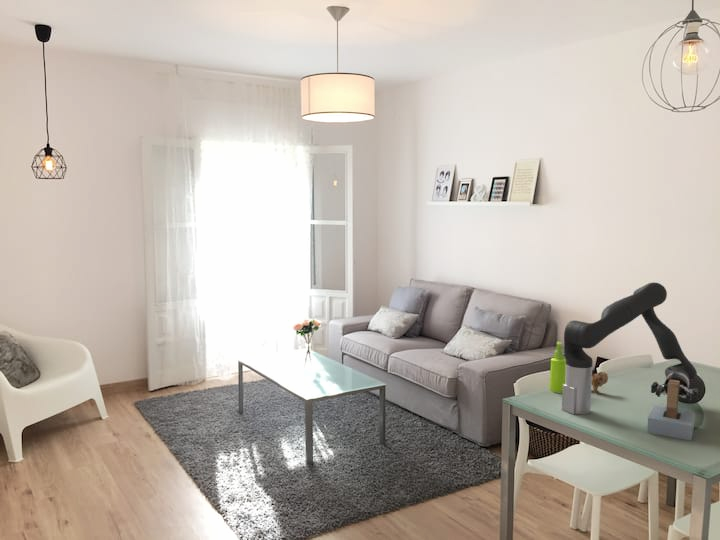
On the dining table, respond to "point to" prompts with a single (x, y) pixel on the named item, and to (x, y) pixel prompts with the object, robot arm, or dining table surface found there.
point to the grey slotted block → (671, 423)
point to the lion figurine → (599, 380)
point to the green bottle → (557, 370)
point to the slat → (672, 399)
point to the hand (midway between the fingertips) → (672, 396)
